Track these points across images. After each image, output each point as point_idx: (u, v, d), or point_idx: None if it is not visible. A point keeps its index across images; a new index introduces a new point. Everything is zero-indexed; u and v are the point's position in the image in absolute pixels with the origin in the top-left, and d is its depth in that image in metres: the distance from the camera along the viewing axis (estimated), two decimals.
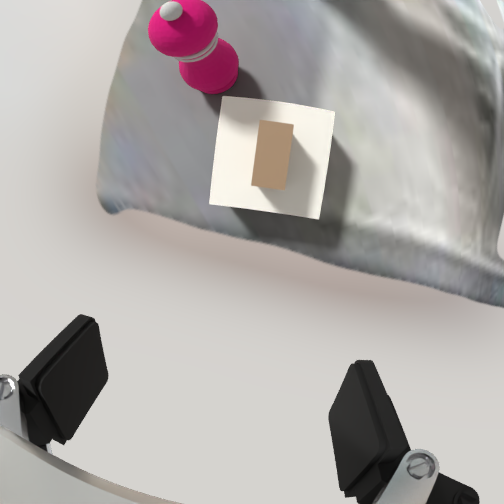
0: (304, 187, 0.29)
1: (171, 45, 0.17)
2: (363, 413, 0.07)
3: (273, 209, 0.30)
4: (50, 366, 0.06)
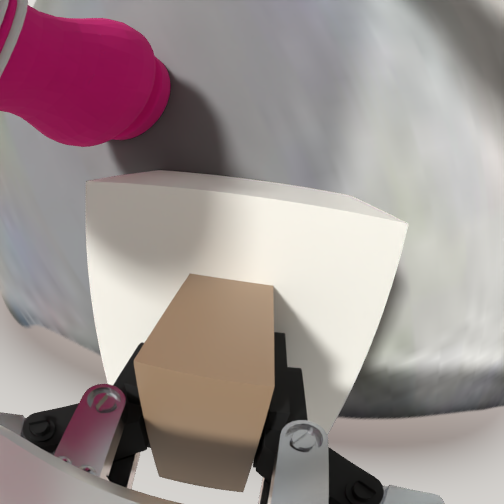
0: None
1: None
2: None
3: None
4: None
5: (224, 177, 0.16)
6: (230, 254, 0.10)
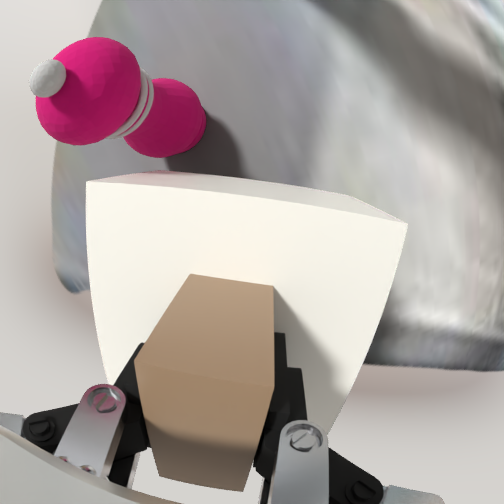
0: None
1: (62, 136, 0.10)
2: None
3: None
4: None
5: (224, 177, 0.16)
6: (230, 254, 0.10)
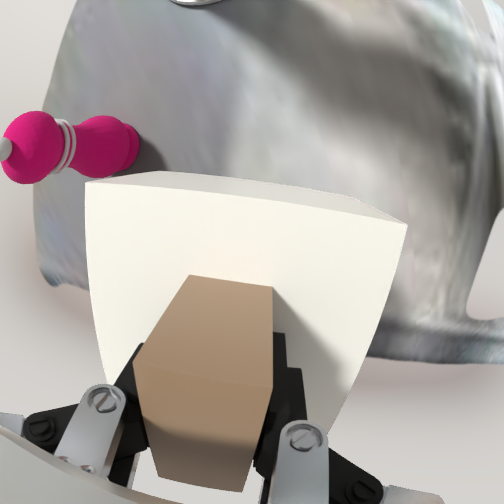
0: None
1: (17, 181, 0.16)
2: None
3: None
4: None
5: (223, 178, 0.16)
6: (229, 255, 0.10)
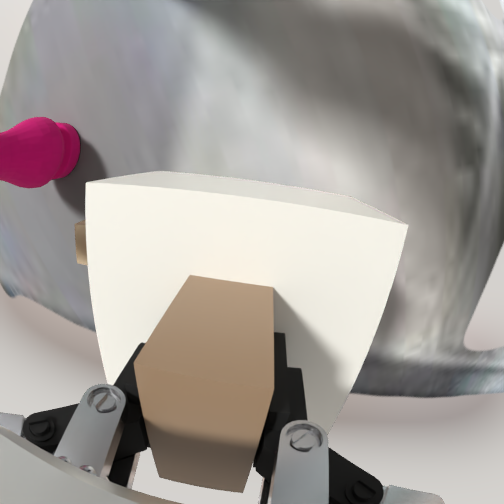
0: None
1: None
2: None
3: None
4: None
5: (224, 178, 0.16)
6: (230, 256, 0.10)
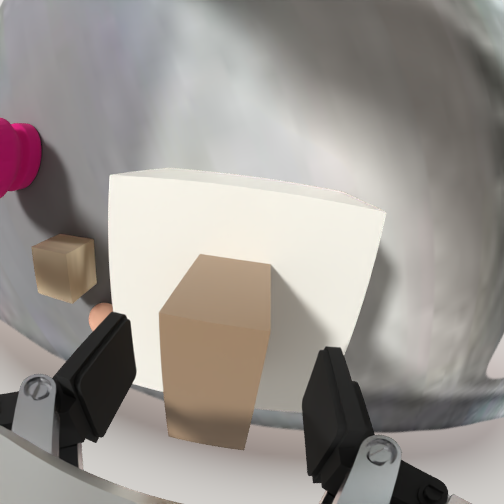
0: (297, 374, 0.14)
1: None
2: (327, 397, 0.07)
3: None
4: (88, 363, 0.07)
5: (228, 174, 0.17)
6: (234, 237, 0.12)
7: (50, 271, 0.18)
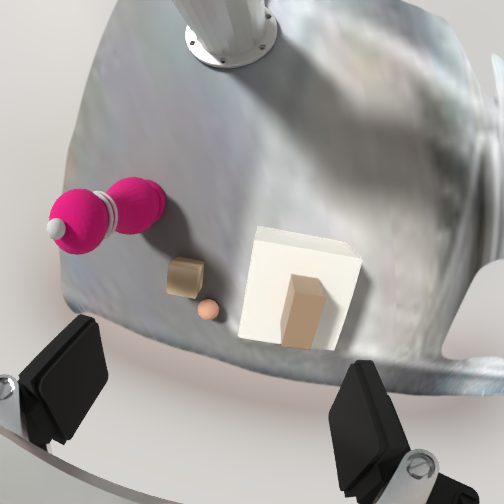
0: (325, 326, 0.32)
1: None
2: (363, 413, 0.07)
3: None
4: (50, 366, 0.06)
5: (291, 233, 0.36)
6: (305, 267, 0.30)
7: (182, 279, 0.36)
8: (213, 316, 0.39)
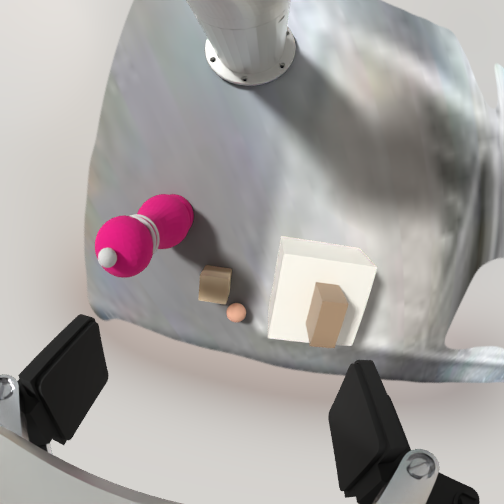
0: (344, 326, 0.36)
1: (117, 276, 0.25)
2: (363, 413, 0.07)
3: None
4: (50, 366, 0.06)
5: (312, 242, 0.40)
6: (328, 276, 0.34)
7: (213, 287, 0.40)
8: (241, 318, 0.43)
